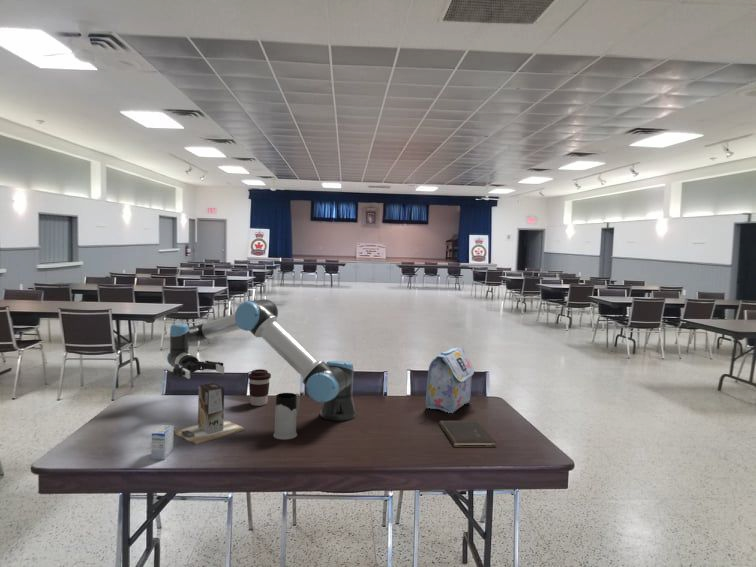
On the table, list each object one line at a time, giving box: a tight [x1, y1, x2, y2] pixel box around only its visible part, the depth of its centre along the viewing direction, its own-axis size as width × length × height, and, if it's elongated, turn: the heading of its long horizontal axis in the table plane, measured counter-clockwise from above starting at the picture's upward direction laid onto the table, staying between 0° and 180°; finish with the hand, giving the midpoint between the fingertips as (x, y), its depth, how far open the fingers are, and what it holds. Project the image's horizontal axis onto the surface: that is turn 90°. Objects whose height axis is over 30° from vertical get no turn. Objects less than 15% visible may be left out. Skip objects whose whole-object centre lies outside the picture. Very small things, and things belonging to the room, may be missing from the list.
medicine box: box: [150, 424, 175, 461], centre depth 155 cm, size 8×4×9 cm, turn 5°
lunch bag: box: [425, 347, 475, 414], centre depth 220 cm, size 22×17×26 cm
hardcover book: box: [438, 420, 497, 447], centre depth 184 cm, size 16×23×2 cm
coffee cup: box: [247, 368, 272, 407], centre depth 213 cm, size 10×10×15 cm
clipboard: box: [174, 419, 246, 445], centre depth 178 cm, size 16×20×2 cm
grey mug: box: [272, 392, 301, 440], centre depth 179 cm, size 9×14×15 cm, turn 160°
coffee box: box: [197, 382, 225, 433], centre depth 178 cm, size 9×6×16 cm
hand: (206, 372), depth 186 cm, fingers open, 13 cm apart
